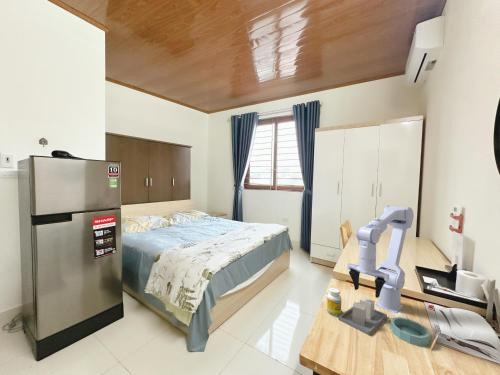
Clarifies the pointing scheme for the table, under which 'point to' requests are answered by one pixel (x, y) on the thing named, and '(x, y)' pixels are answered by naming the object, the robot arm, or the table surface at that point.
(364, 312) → the light gray rectangular block
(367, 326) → the tray
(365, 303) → the beige rectangular block
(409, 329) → the bowl
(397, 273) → the robot arm
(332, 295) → the supplement bottle
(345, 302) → the table surface
